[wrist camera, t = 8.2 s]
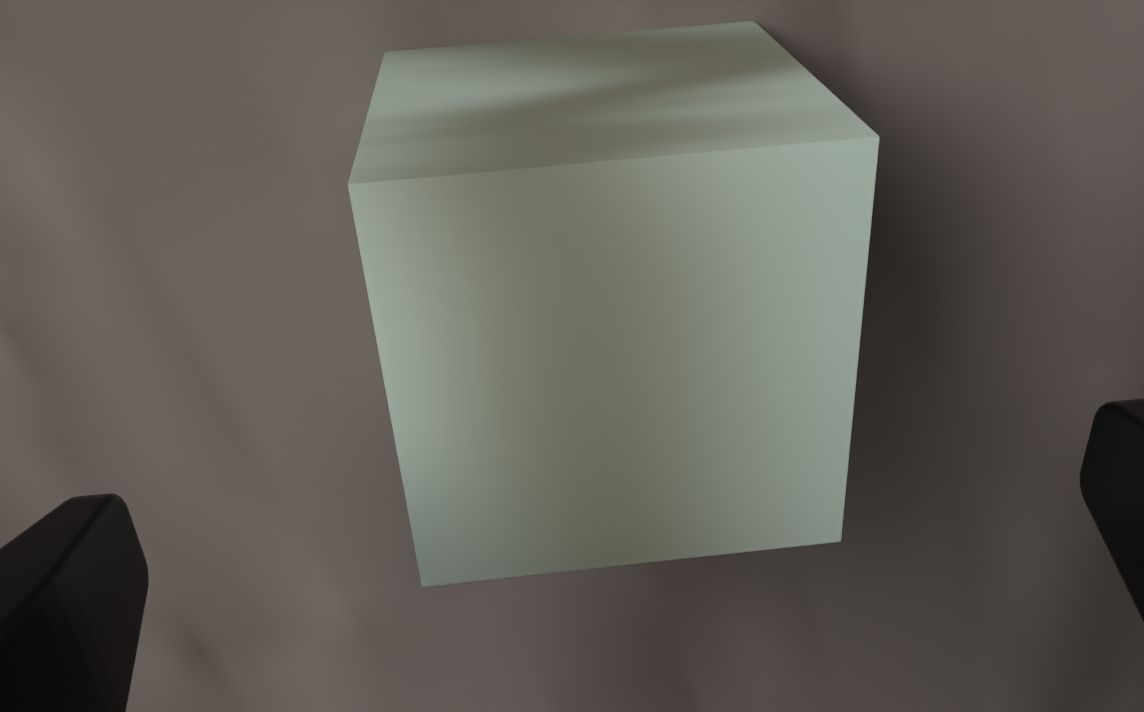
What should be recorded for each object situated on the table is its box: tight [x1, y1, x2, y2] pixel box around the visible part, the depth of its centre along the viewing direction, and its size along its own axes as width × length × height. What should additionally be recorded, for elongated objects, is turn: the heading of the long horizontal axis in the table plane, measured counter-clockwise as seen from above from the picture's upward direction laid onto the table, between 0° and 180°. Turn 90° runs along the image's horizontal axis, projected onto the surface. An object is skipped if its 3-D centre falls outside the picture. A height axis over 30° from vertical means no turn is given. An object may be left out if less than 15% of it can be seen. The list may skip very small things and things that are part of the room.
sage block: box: [348, 21, 879, 587], centre depth 13 cm, size 5×5×5 cm
